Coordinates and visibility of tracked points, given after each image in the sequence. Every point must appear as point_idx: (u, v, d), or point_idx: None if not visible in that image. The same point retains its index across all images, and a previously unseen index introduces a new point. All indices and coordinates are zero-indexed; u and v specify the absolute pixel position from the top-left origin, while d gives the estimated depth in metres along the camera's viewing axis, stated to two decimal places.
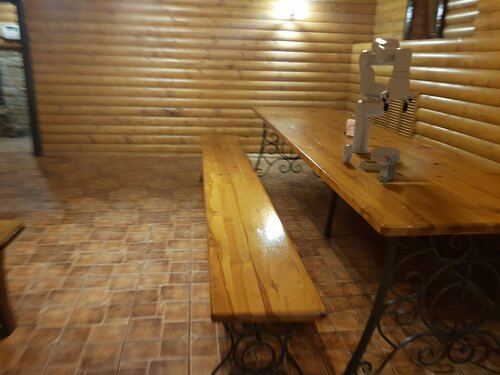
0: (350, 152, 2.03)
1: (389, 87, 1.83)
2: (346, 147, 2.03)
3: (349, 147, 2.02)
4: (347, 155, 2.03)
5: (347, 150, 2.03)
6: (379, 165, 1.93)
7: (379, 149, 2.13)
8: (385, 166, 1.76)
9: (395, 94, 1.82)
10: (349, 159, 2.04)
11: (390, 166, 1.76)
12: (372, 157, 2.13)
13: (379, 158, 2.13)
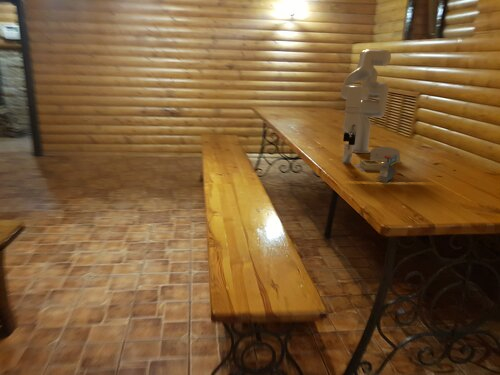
0: (350, 152, 2.03)
1: (355, 122, 1.95)
2: (346, 147, 2.03)
3: (349, 147, 2.02)
4: (347, 155, 2.03)
5: (347, 150, 2.03)
6: (379, 165, 1.93)
7: (379, 149, 2.13)
8: (385, 166, 1.76)
9: None
10: (349, 159, 2.04)
11: (390, 166, 1.76)
12: (372, 157, 2.13)
13: (379, 158, 2.13)
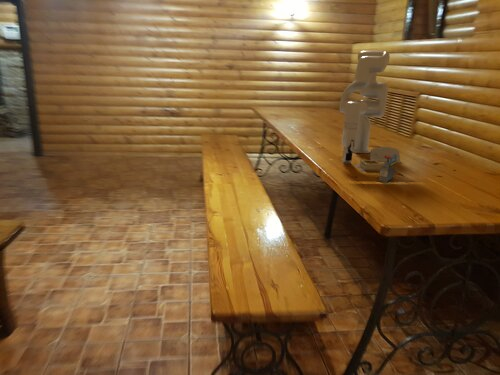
0: None
1: (353, 138, 1.98)
2: None
3: None
4: None
5: None
6: (379, 165, 1.93)
7: (379, 149, 2.13)
8: (385, 166, 1.76)
9: None
10: None
11: (390, 166, 1.76)
12: (372, 157, 2.13)
13: (379, 158, 2.13)
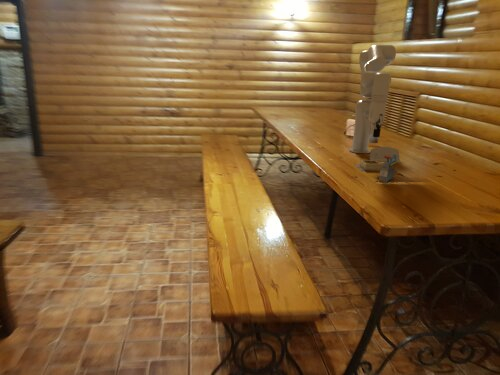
0: None
1: (382, 112, 1.83)
2: None
3: (377, 122, 1.87)
4: None
5: None
6: (379, 165, 1.93)
7: (378, 149, 2.13)
8: (385, 166, 1.76)
9: None
10: None
11: (390, 166, 1.76)
12: (372, 157, 2.13)
13: (379, 158, 2.13)
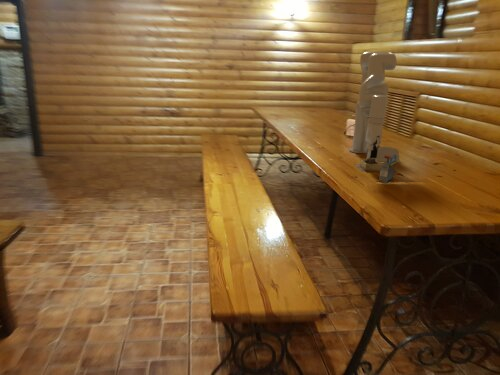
0: None
1: (379, 133, 1.86)
2: (371, 144, 1.91)
3: (374, 143, 1.91)
4: None
5: None
6: (379, 165, 1.93)
7: (378, 149, 2.13)
8: (385, 166, 1.76)
9: None
10: None
11: (390, 166, 1.76)
12: None
13: (378, 158, 2.13)
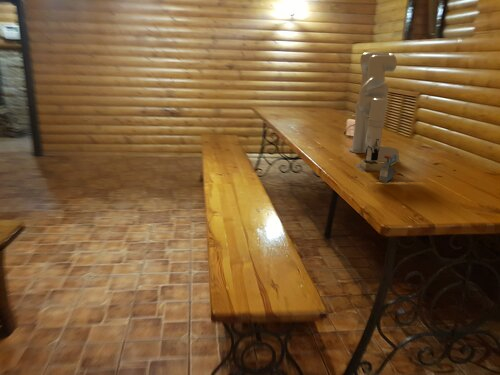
0: None
1: (379, 137, 1.87)
2: (370, 150, 1.93)
3: None
4: None
5: (371, 153, 1.93)
6: (379, 165, 1.93)
7: None
8: (385, 166, 1.76)
9: None
10: (373, 162, 1.94)
11: (390, 166, 1.76)
12: None
13: (378, 158, 2.13)
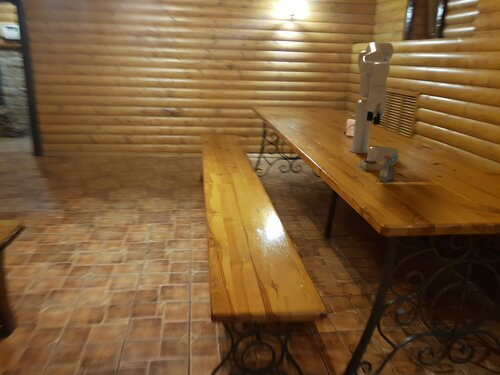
0: (374, 155, 1.93)
1: (380, 101, 1.88)
2: (370, 150, 1.92)
3: (374, 150, 1.92)
4: (372, 158, 1.93)
5: (371, 153, 1.92)
6: (379, 165, 1.93)
7: (378, 149, 2.13)
8: (385, 166, 1.76)
9: None
10: (373, 162, 1.94)
11: (390, 166, 1.76)
12: None
13: (378, 158, 2.13)
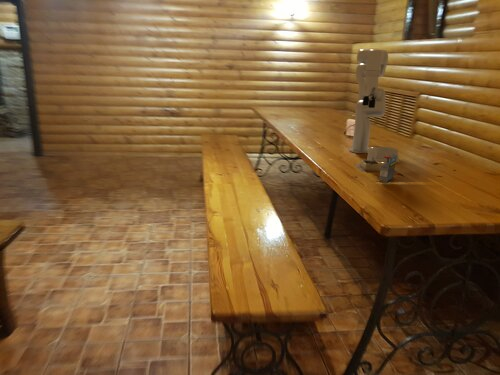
0: (374, 155, 1.93)
1: (375, 85, 2.00)
2: (371, 150, 1.93)
3: (374, 150, 1.92)
4: (372, 158, 1.93)
5: (371, 153, 1.93)
6: (379, 165, 1.93)
7: (378, 149, 2.13)
8: (385, 166, 1.76)
9: None
10: (373, 162, 1.94)
11: (390, 166, 1.76)
12: None
13: (378, 158, 2.13)
